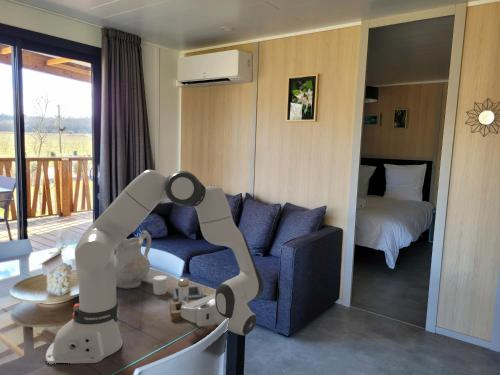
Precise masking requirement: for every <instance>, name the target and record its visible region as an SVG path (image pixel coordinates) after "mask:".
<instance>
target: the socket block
mask: <svg viewBox="0 0 500 375" xmlns="http://www.w3.org/2000/svg"><path fill="white" fill-rule="evenodd" d="M193 301H195V300H190V301H189V303H191V302H193ZM169 313H170V318H171V319H170V320H171V322H173V321H183V320H185V319H184V318H183V317H182V316H181V310H178V302H173V301H172V302H169Z"/></svg>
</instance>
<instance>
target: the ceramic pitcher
mask: <svg viewBox="0 0 500 375" xmlns="http://www.w3.org/2000/svg"><path fill="white" fill-rule="evenodd" d="M144 240H146V247H145V249H144V253H142V246H143V244H144ZM151 246H152V237H151V235H150V233H149V231H148V230H147V229H145V230H141V234H140V236H139V237H132V238H127V237H126V238H125V239H124V240H123V241H122V242H121V243H120V244H119V245H118V247H117V248H116V250H115V254H114V260H115V276H116V288H120V289H126V290H127V289H134V288H138V287H139V286H141V285H142V283H143V282H142V280H144V278H145V277H146V276H147V275H148V274H149V272H150V267H151V261H150V260H149V258H148V256H149V255H148V254H149V252H150V250H151Z"/></svg>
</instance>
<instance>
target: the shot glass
mask: <svg viewBox="0 0 500 375" xmlns="http://www.w3.org/2000/svg"><path fill="white" fill-rule="evenodd" d="M168 278H169V276H167V275H165V274H157V275H154V276H152V278H151V281H152V288H153V290H152V291H153V294H154V295H157V296H160V295H161V296H162V295H165V294H167V291H168V281H169V279H168Z"/></svg>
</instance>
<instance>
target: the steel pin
mask: <svg viewBox="0 0 500 375" xmlns="http://www.w3.org/2000/svg"><path fill="white" fill-rule="evenodd" d="M189 287H190V279H189V278H188V277H179V278H178V281H177V288H178V310H181V306H182V301H184V300H186V301H188V303H189Z"/></svg>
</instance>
